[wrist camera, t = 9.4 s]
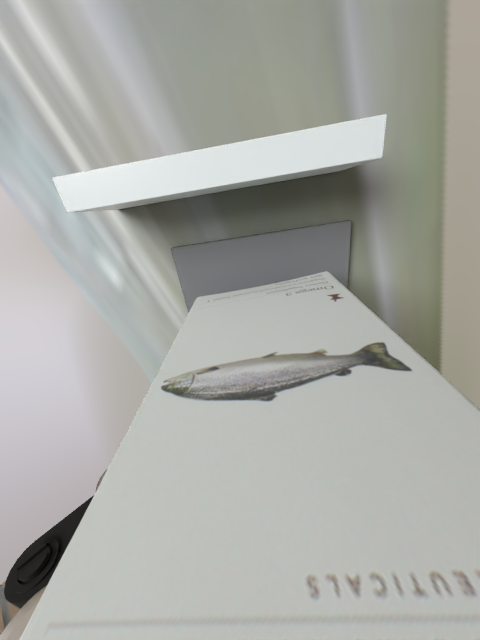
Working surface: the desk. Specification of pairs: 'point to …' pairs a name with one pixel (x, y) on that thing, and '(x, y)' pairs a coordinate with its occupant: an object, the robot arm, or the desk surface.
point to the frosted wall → (225, 167)
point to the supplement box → (282, 487)
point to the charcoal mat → (262, 259)
